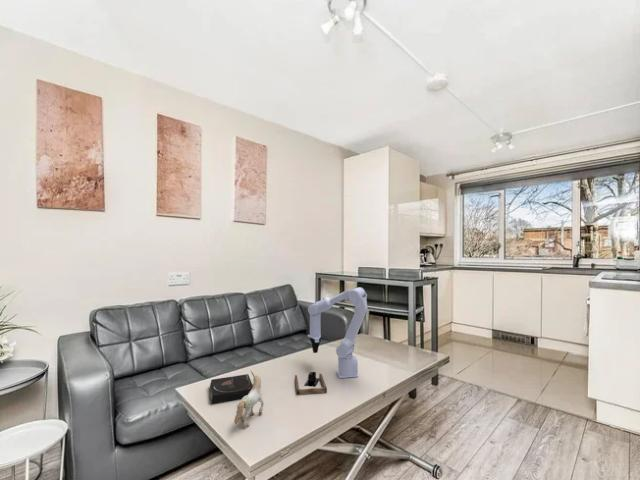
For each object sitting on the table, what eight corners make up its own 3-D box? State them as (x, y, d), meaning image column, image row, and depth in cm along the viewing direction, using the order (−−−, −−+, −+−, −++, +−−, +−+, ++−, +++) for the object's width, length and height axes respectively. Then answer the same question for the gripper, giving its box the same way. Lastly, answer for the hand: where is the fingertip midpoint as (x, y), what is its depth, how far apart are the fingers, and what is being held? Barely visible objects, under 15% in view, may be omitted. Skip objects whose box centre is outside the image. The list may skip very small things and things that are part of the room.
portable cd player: (209, 388, 135) (209, 379, 135) (248, 382, 142) (248, 374, 142) (211, 406, 120) (211, 395, 120) (253, 398, 126) (253, 388, 126)
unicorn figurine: (267, 404, 120) (267, 370, 121) (253, 433, 101) (254, 393, 101) (250, 403, 121) (250, 370, 121) (233, 432, 101) (233, 392, 102)
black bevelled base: (316, 389, 134) (316, 379, 134) (300, 388, 136) (300, 378, 136) (322, 378, 146) (322, 368, 147) (307, 377, 148) (307, 367, 148)
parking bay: (321, 377, 146) (321, 373, 146) (326, 393, 130) (326, 388, 130) (294, 379, 144) (294, 375, 144) (297, 395, 128) (297, 390, 128)
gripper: (306, 323, 165) (306, 348, 164) (309, 330, 150) (309, 357, 150) (319, 323, 166) (319, 347, 165) (323, 329, 151) (323, 356, 151)
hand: (315, 352), depth 158 cm, fingers closed
